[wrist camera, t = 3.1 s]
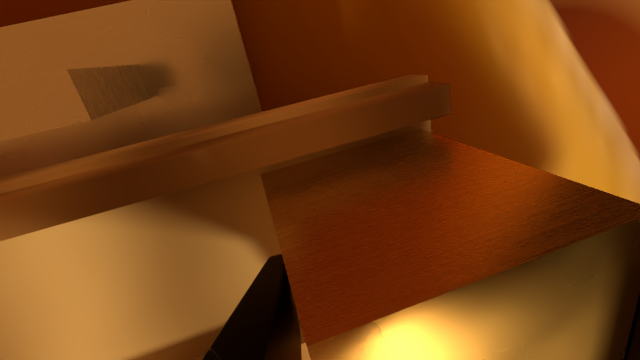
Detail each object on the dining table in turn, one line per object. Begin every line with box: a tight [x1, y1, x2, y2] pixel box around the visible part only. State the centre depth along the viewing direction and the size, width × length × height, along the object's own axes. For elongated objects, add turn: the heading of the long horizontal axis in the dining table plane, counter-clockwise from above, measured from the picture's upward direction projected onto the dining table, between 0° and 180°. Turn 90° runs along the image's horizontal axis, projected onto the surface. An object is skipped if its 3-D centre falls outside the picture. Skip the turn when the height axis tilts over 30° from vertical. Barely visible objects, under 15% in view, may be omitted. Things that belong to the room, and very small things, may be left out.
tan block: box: [260, 129, 640, 360], centre depth 8 cm, size 5×5×6 cm
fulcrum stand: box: [0, 0, 263, 178], centre depth 12 cm, size 10×16×5 cm, turn 12°
